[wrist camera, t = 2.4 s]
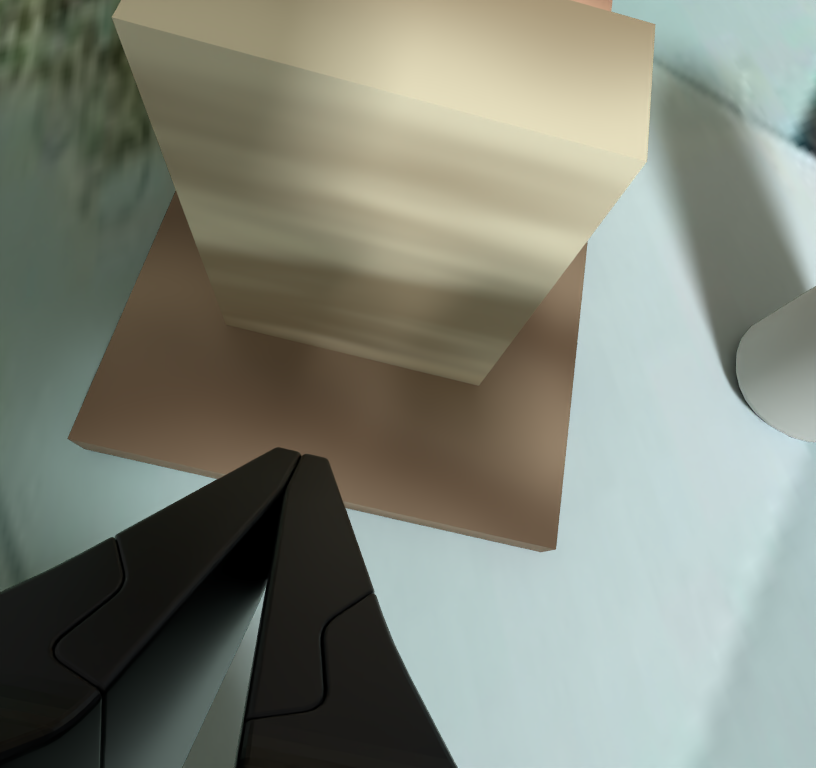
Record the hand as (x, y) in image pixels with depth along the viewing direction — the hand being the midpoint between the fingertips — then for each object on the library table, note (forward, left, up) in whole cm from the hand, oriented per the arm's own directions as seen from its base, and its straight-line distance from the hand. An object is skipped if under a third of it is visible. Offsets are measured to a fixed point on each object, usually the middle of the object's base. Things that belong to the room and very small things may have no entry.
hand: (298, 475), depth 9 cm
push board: (+13, +3, -8) cm, 16 cm away
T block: (+10, +3, -7) cm, 12 cm away
